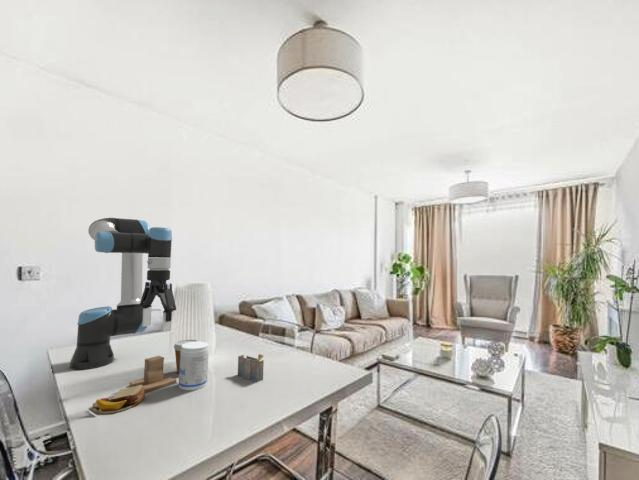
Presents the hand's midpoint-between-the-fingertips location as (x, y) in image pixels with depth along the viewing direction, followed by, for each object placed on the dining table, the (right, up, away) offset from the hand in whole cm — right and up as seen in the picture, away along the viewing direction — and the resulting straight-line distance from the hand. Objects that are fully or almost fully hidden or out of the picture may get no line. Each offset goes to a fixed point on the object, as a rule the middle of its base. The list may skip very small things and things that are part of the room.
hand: (156, 328), depth 112 cm
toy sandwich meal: (-3, -20, -16) cm, 26 cm away
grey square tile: (0, -20, -1) cm, 20 cm away
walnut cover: (0, -20, -1) cm, 20 cm away
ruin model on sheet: (+32, -22, +8) cm, 40 cm away
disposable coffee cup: (+6, -21, +11) cm, 25 cm away
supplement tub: (+14, -21, -1) cm, 25 cm away
